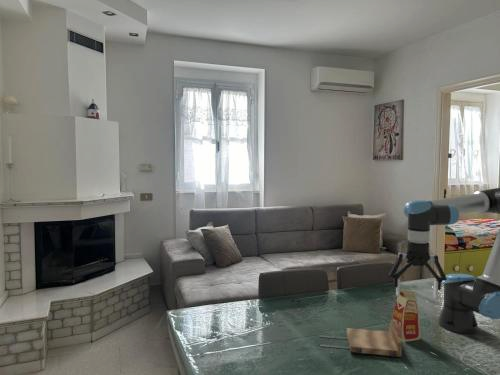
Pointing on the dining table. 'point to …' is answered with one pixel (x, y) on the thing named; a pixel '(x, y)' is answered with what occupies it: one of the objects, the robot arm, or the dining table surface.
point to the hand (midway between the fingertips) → (416, 296)
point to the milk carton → (406, 316)
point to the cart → (374, 341)
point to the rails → (335, 346)
